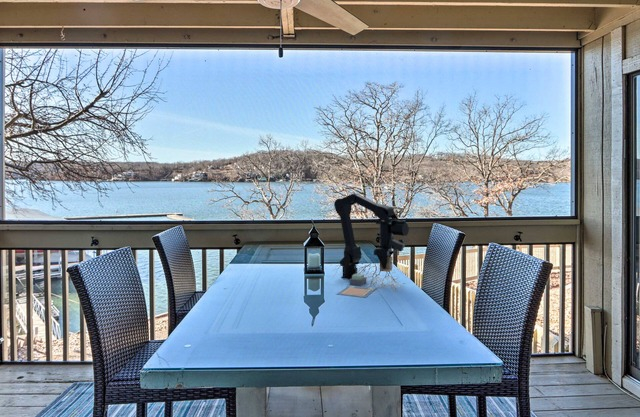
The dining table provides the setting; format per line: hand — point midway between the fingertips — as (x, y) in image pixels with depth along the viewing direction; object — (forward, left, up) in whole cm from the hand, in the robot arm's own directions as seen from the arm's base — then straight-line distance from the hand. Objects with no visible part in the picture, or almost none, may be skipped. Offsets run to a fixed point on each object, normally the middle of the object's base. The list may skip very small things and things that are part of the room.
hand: (385, 267), depth 193 cm
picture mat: (-8, -17, -8) cm, 20 cm away
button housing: (-12, -4, -8) cm, 15 cm away
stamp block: (0, 0, -1) cm, 1 cm away
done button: (-12, -4, -6) cm, 14 cm away
